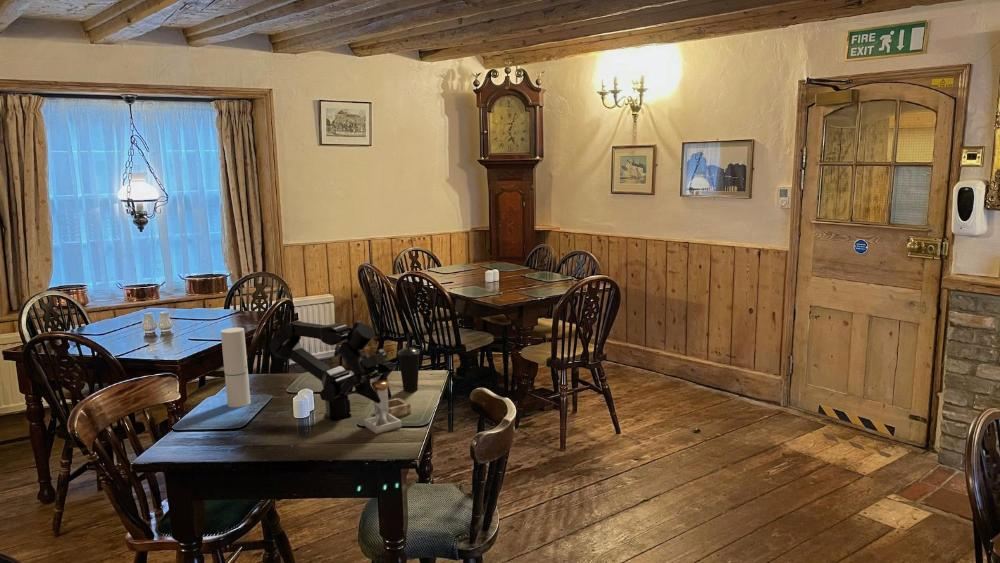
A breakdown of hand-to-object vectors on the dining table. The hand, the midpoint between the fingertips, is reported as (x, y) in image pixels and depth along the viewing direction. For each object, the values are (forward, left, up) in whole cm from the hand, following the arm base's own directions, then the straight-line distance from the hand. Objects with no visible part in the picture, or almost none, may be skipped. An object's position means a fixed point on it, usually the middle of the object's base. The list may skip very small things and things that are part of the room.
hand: (385, 399), depth 209 cm
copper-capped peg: (-1, +1, -8) cm, 8 cm away
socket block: (+7, +10, -8) cm, 15 cm away
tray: (-1, +1, -8) cm, 9 cm away
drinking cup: (+22, +26, -9) cm, 36 cm away
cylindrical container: (-29, +50, -9) cm, 58 cm away
